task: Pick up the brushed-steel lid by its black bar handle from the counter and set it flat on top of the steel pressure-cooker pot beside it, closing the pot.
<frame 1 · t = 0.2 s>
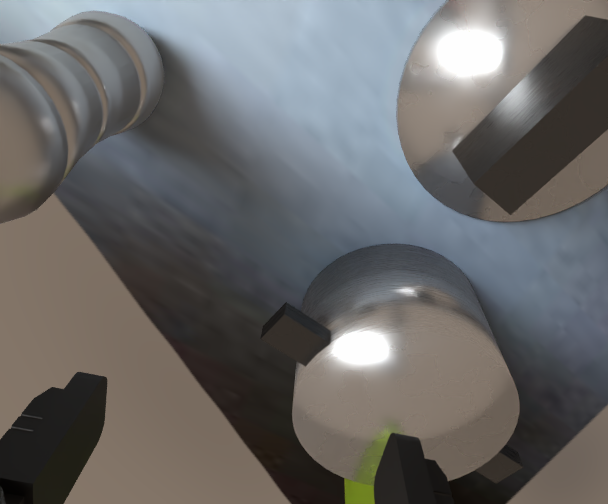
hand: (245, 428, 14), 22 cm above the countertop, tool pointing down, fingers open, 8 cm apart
cooker lid: (524, 100, 31), on the countertop
soap dispenser: (370, 431, 46), on the countertop
plastic bottle: (122, 66, 31), on the countertop
cooker pot: (387, 319, 39), on the countertop
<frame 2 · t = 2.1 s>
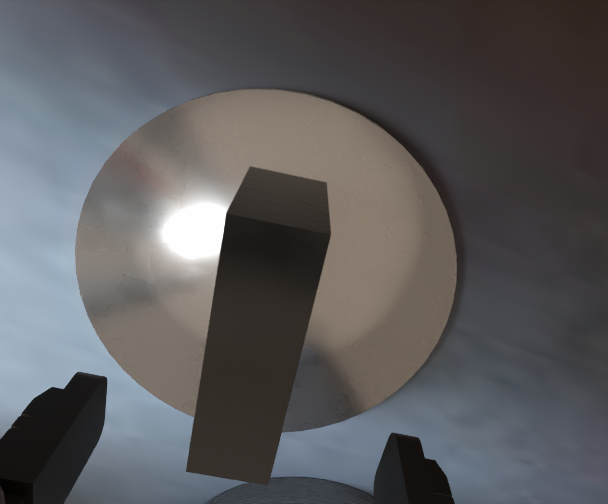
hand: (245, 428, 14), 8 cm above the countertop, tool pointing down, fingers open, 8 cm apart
cooker lid: (267, 276, 22), on the countertop
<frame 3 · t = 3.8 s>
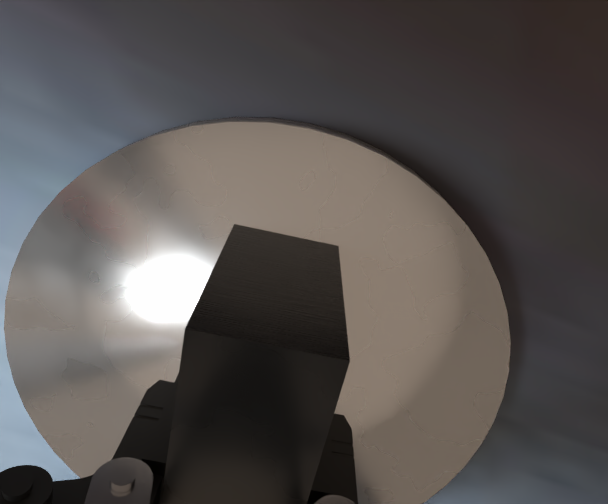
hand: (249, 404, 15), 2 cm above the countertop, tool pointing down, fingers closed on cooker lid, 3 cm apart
cooker lid: (259, 358, 17), on the countertop, touching gripper
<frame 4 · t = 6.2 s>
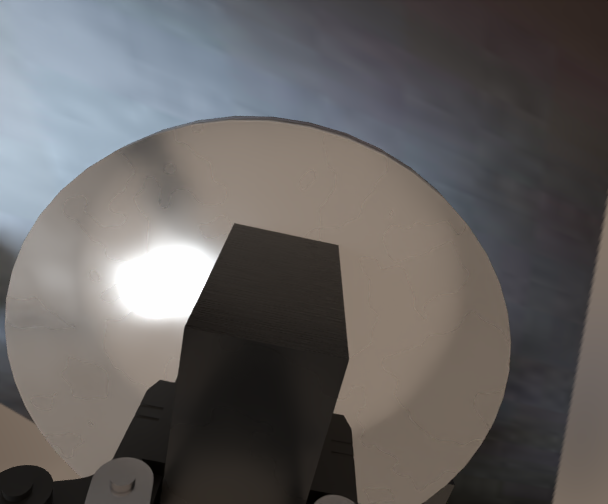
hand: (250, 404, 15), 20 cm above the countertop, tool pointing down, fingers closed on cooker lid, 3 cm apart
cooker lid: (259, 357, 17), point 17 cm above the countertop, touching gripper
cooker pot: (292, 375, 38), on the countertop
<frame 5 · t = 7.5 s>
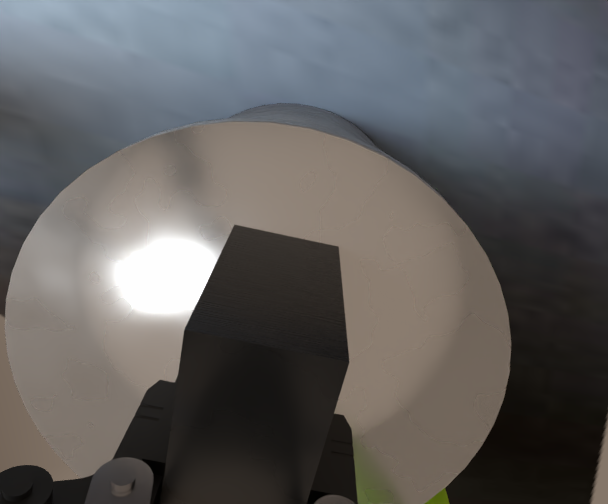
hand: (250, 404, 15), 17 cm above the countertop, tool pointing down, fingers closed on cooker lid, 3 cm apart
cooker lid: (259, 358, 17), point 15 cm above the countertop, touching gripper
cooker pot: (287, 220, 30), on the countertop
when the fingers open (13 cm above the countertop, at t = 8.7 s): cooker lid drops 1 cm, resting on cooker pot.
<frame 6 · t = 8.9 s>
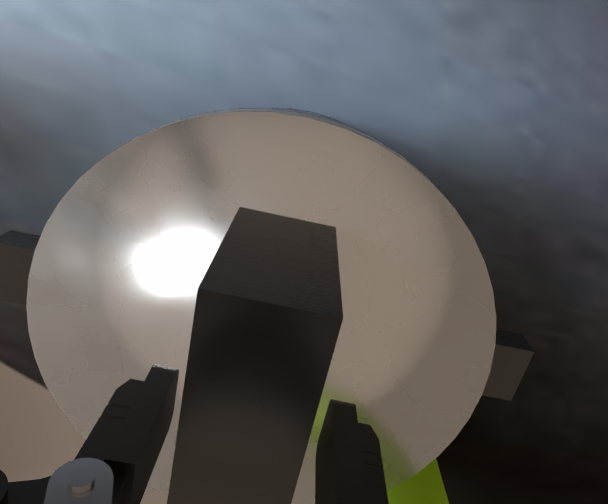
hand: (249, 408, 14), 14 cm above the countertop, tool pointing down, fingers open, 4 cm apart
cooker lid: (262, 335, 18), point 10 cm above the countertop, touching cooker pot
soap dispenser: (370, 416, 32), on the countertop
cooker pot: (282, 239, 27), on the countertop
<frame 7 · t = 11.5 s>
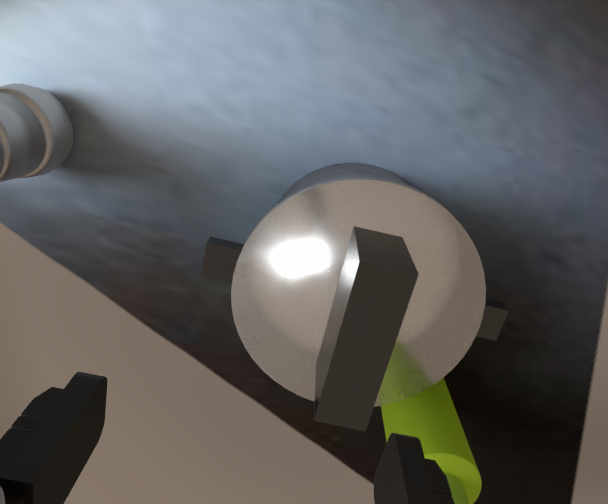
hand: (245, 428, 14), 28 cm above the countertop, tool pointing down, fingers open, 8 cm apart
cooker lid: (355, 297, 32), point 10 cm above the countertop, touching cooker pot
soap dispenser: (402, 370, 46), on the countertop
plastic bottle: (44, 127, 39), on the countertop
cooker pot: (349, 245, 41), on the countertop
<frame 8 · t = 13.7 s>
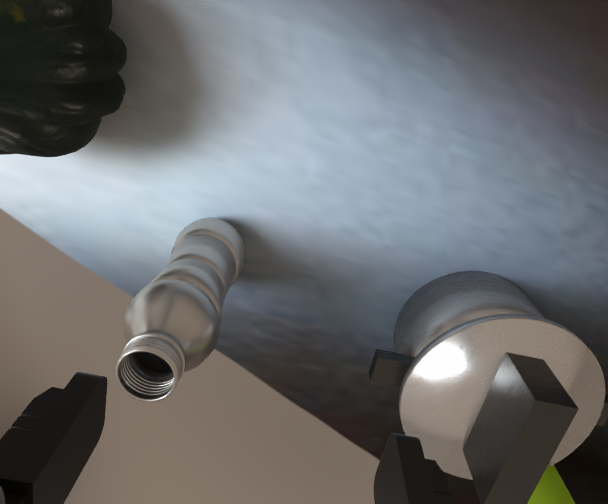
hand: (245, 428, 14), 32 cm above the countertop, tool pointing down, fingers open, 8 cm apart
cooker lid: (496, 398, 40), point 10 cm above the countertop, touching cooker pot
soap dispenser: (499, 429, 54), on the countertop
plastic bottle: (215, 244, 47), on the countertop
squash: (60, 53, 40), on the countertop
cooker pot: (463, 333, 49), on the countertop
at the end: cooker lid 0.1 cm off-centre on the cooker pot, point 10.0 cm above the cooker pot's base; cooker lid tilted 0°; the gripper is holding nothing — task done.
